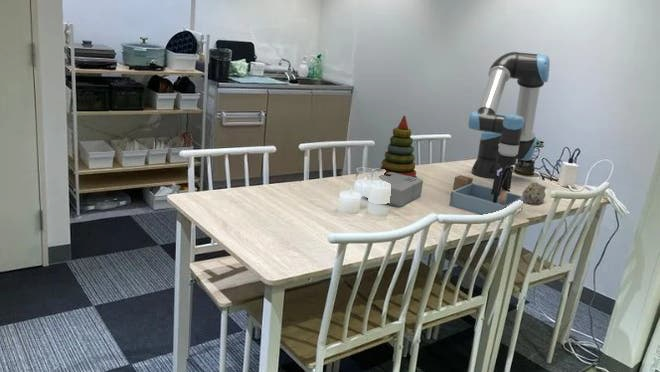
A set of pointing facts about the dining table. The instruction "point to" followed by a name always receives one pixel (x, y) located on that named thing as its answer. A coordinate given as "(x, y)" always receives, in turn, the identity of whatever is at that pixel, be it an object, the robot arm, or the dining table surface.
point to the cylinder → (502, 197)
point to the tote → (479, 199)
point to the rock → (534, 193)
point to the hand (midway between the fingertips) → (497, 208)
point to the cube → (461, 181)
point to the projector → (402, 188)
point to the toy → (400, 152)
